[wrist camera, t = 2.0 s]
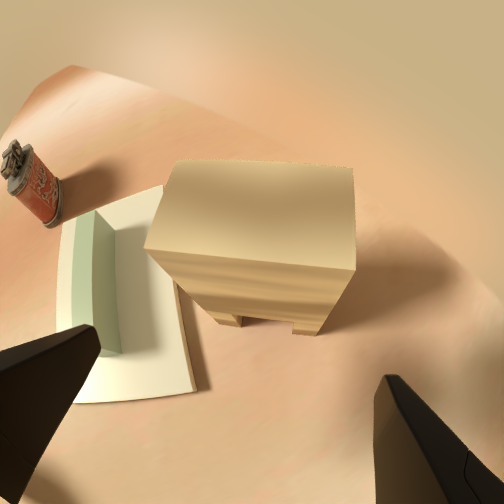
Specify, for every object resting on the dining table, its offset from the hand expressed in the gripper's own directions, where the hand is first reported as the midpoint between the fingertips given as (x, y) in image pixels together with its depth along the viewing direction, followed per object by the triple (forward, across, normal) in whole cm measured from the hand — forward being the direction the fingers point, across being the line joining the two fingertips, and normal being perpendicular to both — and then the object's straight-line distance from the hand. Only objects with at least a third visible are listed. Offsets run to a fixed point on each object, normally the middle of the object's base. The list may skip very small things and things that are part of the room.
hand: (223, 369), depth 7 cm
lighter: (+18, +27, -1) cm, 32 cm away
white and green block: (+11, +13, +5) cm, 18 cm away
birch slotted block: (+12, 0, +5) cm, 13 cm away
